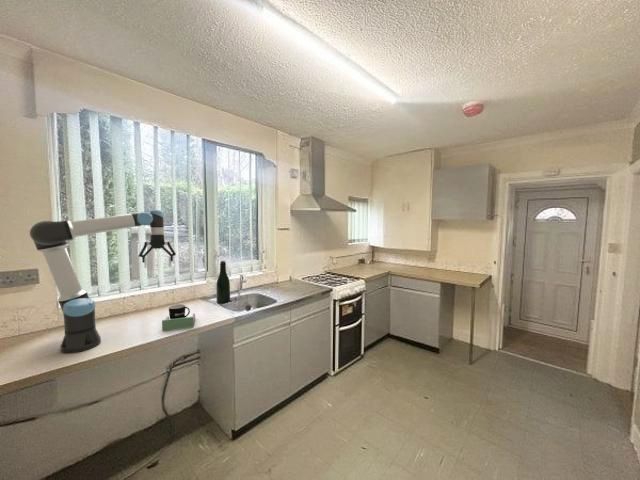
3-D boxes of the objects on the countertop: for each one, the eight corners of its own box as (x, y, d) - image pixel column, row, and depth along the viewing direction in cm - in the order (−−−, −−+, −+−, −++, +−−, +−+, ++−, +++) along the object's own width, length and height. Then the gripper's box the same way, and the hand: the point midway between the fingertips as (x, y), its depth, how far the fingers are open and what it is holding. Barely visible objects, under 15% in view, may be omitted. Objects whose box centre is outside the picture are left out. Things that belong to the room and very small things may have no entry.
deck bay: (162, 331, 152) (162, 320, 152) (166, 321, 167) (166, 312, 166) (193, 327, 158) (193, 317, 158) (195, 318, 173) (194, 309, 173)
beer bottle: (228, 298, 217) (227, 259, 215) (231, 302, 209) (231, 261, 207) (215, 300, 212) (214, 260, 210) (218, 304, 203) (217, 262, 201)
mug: (172, 326, 156) (172, 309, 156) (166, 322, 162) (166, 306, 162) (192, 320, 165) (192, 305, 165) (186, 317, 171) (186, 302, 171)
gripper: (179, 233, 175) (180, 265, 176) (135, 234, 165) (136, 267, 167) (178, 234, 168) (179, 266, 169) (132, 234, 158) (133, 269, 160)
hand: (158, 267), depth 168 cm, fingers open, 13 cm apart
